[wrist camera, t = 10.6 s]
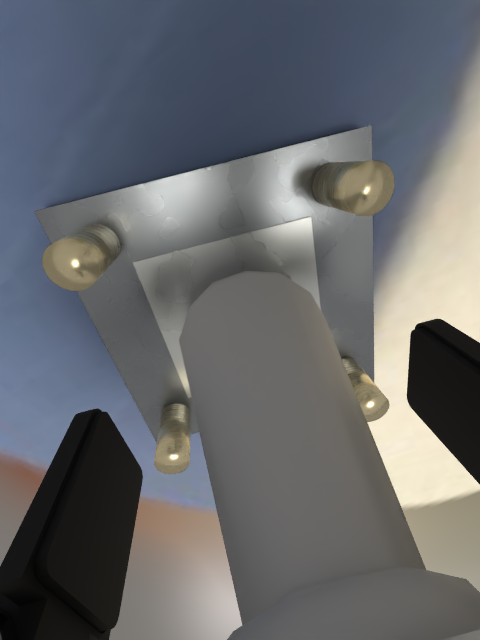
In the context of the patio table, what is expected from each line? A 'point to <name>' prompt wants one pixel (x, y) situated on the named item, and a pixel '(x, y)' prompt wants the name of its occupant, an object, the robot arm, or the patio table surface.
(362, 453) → the salt shaker
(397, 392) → the patio table surface
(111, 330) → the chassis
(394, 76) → the patio table surface
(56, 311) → the patio table surface
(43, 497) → the robot arm
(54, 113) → the patio table surface
